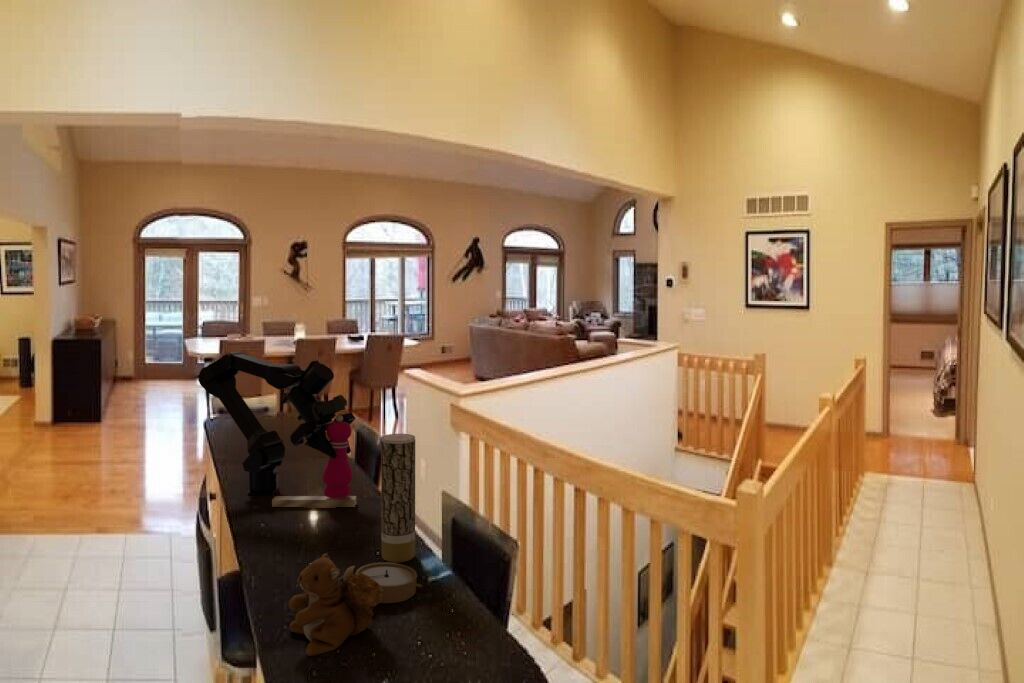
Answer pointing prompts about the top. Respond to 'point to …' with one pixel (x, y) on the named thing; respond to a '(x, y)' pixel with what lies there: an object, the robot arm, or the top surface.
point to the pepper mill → (338, 460)
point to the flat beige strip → (313, 501)
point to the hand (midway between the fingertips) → (342, 454)
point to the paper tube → (398, 497)
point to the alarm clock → (389, 580)
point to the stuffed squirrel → (332, 605)
